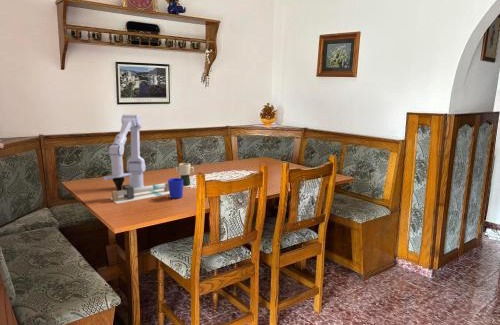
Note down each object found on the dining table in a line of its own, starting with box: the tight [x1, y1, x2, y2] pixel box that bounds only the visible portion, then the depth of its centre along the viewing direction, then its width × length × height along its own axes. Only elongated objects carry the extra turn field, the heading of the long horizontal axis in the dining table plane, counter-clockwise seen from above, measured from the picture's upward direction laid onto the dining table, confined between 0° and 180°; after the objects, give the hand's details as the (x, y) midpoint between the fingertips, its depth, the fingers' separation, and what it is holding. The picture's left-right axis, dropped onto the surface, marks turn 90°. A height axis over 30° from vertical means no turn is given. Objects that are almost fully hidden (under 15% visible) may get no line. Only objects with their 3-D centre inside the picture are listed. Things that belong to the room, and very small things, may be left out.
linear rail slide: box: [109, 181, 170, 205], centre depth 222 cm, size 12×32×5 cm, turn 126°
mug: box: [167, 177, 184, 200], centre depth 221 cm, size 8×12×10 cm
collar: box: [122, 184, 135, 199], centre depth 218 cm, size 8×3×6 cm, turn 36°
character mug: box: [175, 162, 195, 186], centre depth 246 cm, size 11×7×13 cm, turn 87°
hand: (119, 191), depth 218 cm, fingers closed
